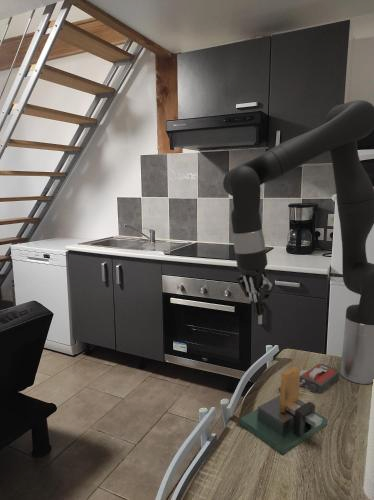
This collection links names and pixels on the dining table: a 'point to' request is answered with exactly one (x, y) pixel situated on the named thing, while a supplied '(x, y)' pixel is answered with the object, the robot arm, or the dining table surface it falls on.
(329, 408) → the dining table surface
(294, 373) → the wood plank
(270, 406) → the green tiered platform
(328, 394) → the dining table surface
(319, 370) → the walkie-talkie
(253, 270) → the robot arm
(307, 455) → the dining table surface
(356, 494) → the dining table surface
